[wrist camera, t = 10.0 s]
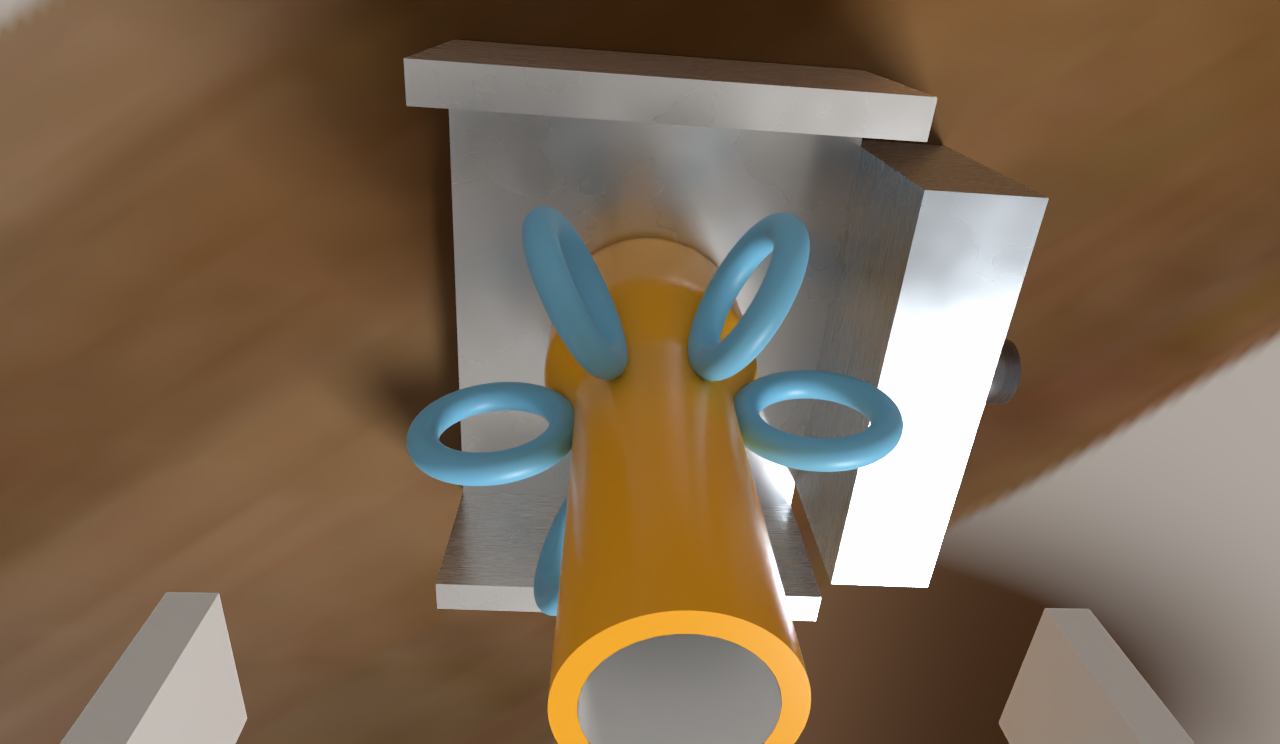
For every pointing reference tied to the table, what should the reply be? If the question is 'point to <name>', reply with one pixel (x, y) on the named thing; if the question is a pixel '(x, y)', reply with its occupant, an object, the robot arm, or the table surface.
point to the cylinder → (662, 482)
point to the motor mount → (712, 224)
